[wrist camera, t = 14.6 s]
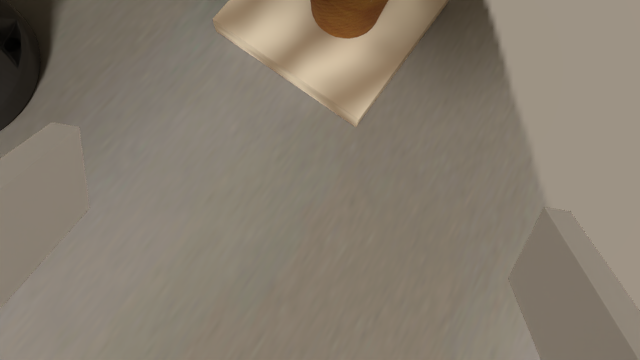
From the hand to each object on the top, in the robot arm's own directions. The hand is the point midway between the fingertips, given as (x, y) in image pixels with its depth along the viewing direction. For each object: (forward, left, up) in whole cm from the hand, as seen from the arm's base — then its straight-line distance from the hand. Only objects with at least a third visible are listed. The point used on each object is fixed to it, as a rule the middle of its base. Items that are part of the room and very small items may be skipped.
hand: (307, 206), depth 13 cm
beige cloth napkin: (-11, +21, -26) cm, 35 cm away
